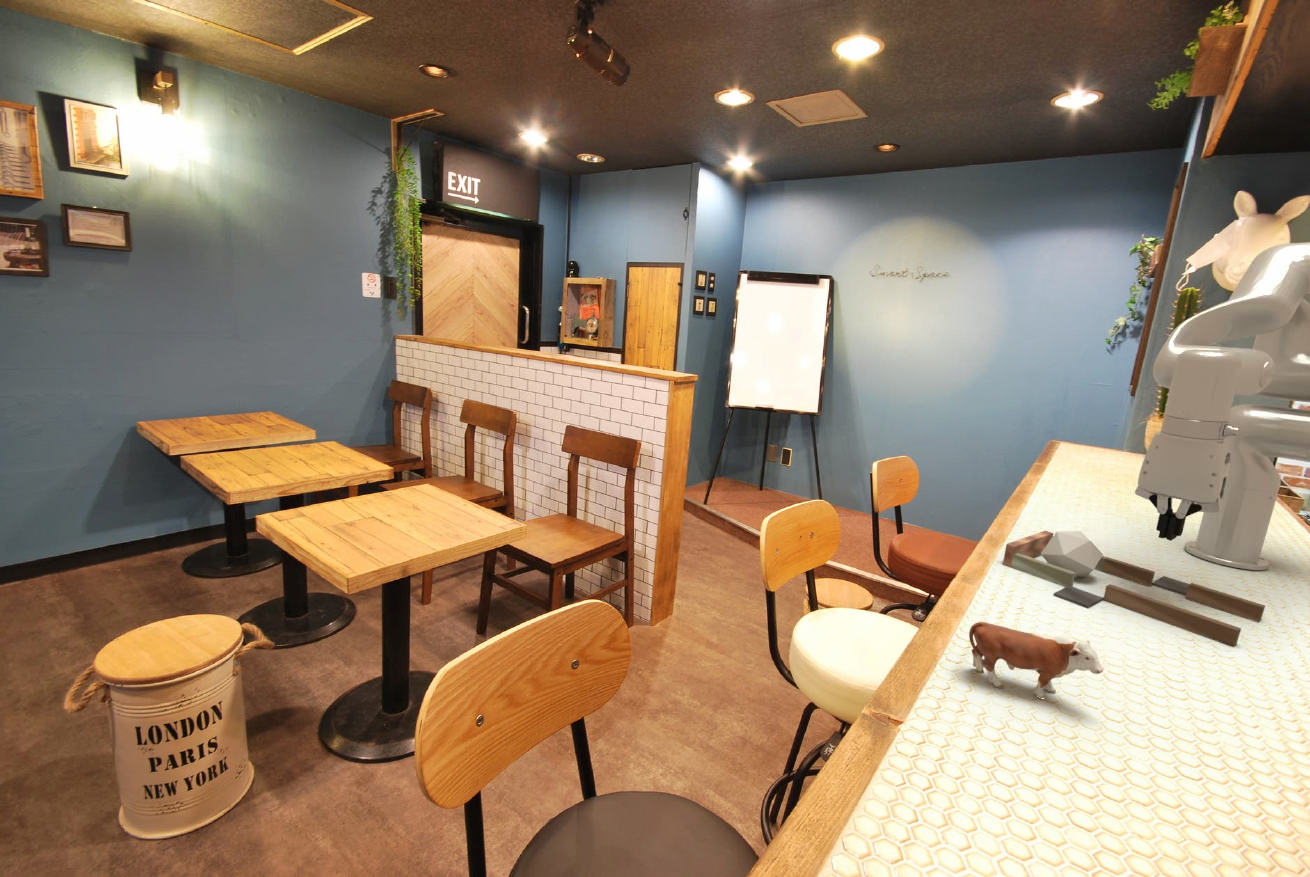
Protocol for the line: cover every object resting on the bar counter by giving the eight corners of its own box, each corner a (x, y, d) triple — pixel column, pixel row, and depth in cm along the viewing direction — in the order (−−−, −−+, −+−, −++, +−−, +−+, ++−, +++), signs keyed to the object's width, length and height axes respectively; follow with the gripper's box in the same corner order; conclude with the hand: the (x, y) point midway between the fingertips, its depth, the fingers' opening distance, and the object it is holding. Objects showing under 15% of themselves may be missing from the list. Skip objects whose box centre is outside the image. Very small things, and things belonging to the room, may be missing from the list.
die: (1101, 592, 102) (1120, 543, 104) (1062, 566, 101) (1081, 518, 103) (1061, 587, 110) (1078, 542, 112) (1024, 563, 109) (1043, 519, 111)
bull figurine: (1093, 720, 66) (1109, 655, 64) (960, 677, 73) (972, 617, 71) (1090, 700, 70) (1105, 638, 68) (964, 661, 76) (974, 603, 75)
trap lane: (1054, 544, 122) (1058, 526, 122) (1270, 611, 97) (1276, 588, 96) (986, 570, 107) (990, 549, 106) (1222, 658, 81) (1229, 631, 80)
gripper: (1264, 435, 89) (1235, 548, 93) (1143, 418, 101) (1122, 519, 105) (1251, 441, 85) (1221, 559, 89) (1126, 422, 97) (1105, 527, 101)
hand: (1167, 537), depth 97 cm, fingers closed
